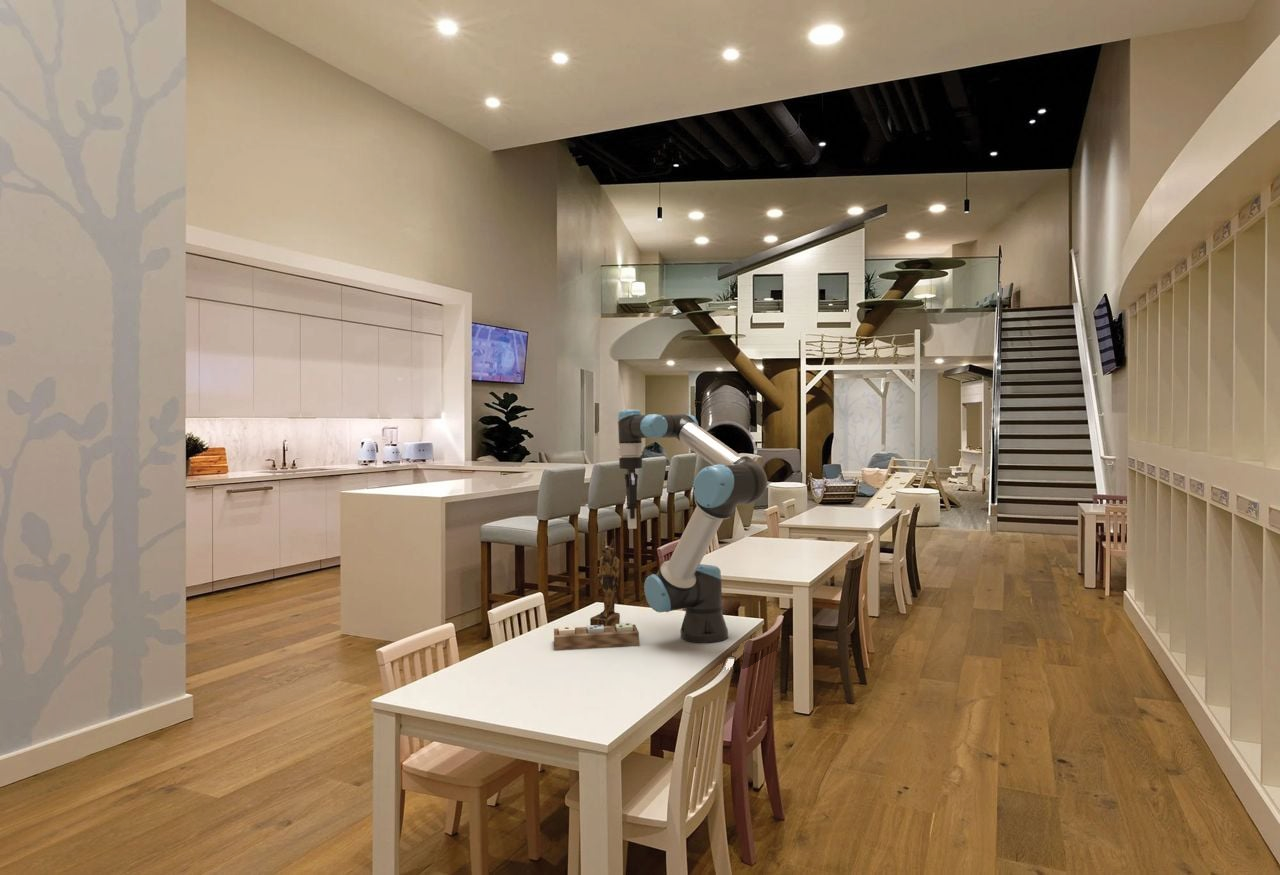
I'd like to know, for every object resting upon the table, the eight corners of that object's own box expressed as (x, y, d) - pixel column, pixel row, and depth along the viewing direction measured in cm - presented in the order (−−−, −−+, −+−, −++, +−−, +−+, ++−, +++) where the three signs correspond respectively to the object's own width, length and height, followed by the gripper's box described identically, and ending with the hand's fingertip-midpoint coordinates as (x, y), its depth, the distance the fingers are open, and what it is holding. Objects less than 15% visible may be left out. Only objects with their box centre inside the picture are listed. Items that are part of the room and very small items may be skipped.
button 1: (574, 638, 254) (574, 625, 254) (575, 642, 249) (575, 629, 249) (558, 639, 253) (558, 626, 253) (559, 643, 248) (558, 630, 248)
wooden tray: (635, 636, 259) (634, 624, 259) (639, 645, 248) (638, 632, 248) (554, 641, 256) (553, 628, 256) (554, 650, 245) (554, 637, 245)
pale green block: (631, 635, 256) (631, 622, 256) (633, 639, 251) (632, 626, 251) (615, 636, 255) (615, 623, 255) (617, 640, 250) (616, 627, 250)
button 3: (603, 637, 255) (602, 624, 255) (604, 641, 250) (604, 627, 250) (587, 638, 254) (587, 624, 254) (588, 642, 249) (588, 628, 249)
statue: (589, 631, 268) (587, 541, 268) (603, 623, 278) (601, 537, 278) (611, 632, 265) (609, 542, 265) (624, 625, 275) (622, 537, 275)
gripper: (617, 456, 270) (619, 526, 270) (621, 457, 257) (622, 531, 257) (639, 455, 271) (641, 525, 271) (644, 456, 258) (646, 530, 258)
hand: (632, 528), depth 264 cm, fingers closed
